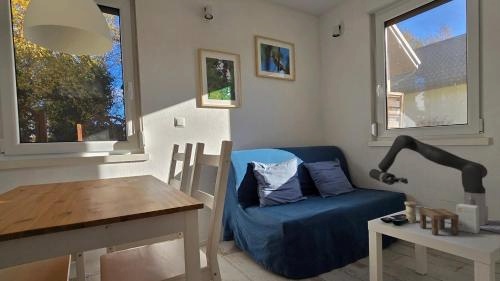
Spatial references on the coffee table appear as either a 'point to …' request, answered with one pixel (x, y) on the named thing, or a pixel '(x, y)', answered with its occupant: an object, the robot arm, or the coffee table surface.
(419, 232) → the coffee table surface
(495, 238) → the coffee table surface
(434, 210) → the walnut footstool
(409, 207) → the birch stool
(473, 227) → the small box
